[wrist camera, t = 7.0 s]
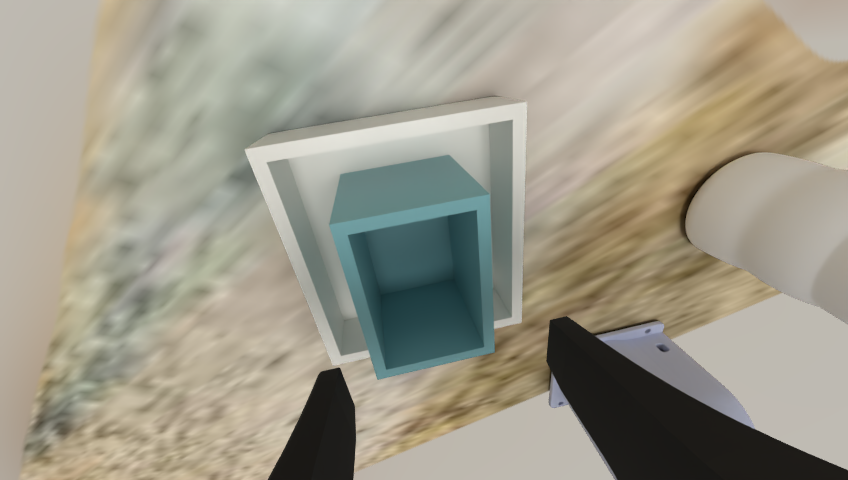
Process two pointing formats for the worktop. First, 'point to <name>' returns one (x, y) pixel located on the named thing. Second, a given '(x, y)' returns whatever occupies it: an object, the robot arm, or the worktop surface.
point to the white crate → (382, 146)
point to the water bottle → (778, 225)
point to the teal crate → (417, 262)
